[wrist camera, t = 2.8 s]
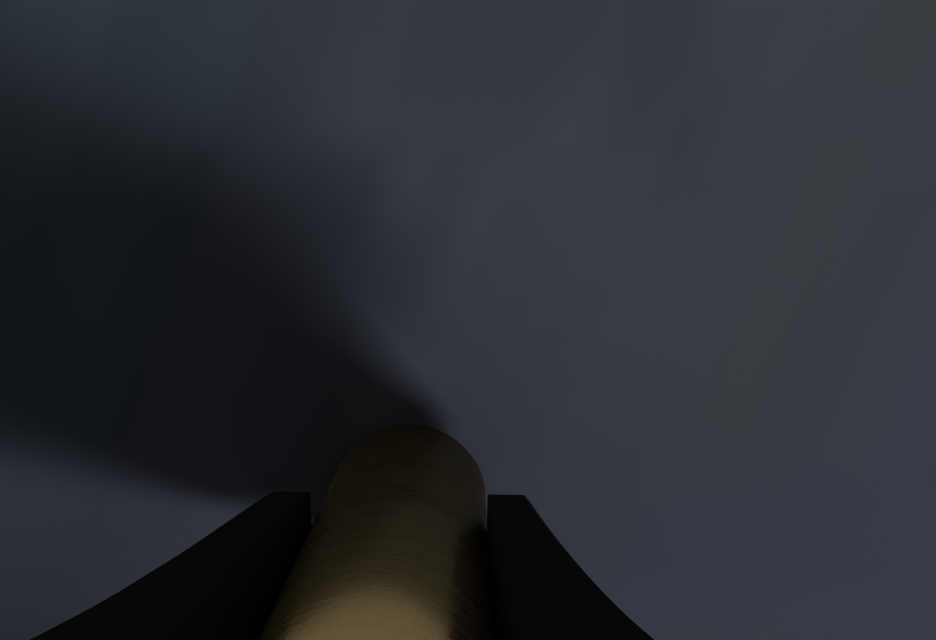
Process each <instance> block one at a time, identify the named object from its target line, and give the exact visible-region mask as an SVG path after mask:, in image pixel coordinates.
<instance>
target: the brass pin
mask: <svg viewBox="0 0 936 640" xmlns="http://www.w3.org/2000/svg"><path fill="white" fill-rule="evenodd" d="M258 640H494V627H493V611H492V595H491V583H490V574H489V560H488V543H487V514H486V498H485V486H484V481H483V477H482V475H481V472H480V469H479V467H478V465H477V464H476V462H475V460H474V459H473V457H472V456H471V455H470V454H469V452H468V451H467V450H466V449H465V448H464V447H463V446H462V445H460V444H459V443H458V442H457V441H455V440H454V439H452V438H451V437H449V436H448V435H445V434H443V433H441V432H439V431H436V430H433V429H430V428H426V427H421V426H411V425H406V426H395V427H389V428H386V429H382V430H379V431H377V432H375V433H372V434H370V435H368V436H367V437H365V438H364V439H362V440H361V441H359V442H358V443H357V444H356V445H354V446H353V448H352V449H351V450H350V451H349V452H348V453H347V454H346V456H345V457H344V459H343V460H342V462H341V464H340V466H339V468H338V470H337V472H336V474H335V476H334V479H333V481H332V483H331V485H330V487H329V489H328V491H327V494H326V496H325V498H324V500H323V502H322V504H321V506H320V509H319V511H318V513H317V515H316V517H315V519H314V521H313V524H312V526H311V528H310V530H309V532H308V534H307V536H306V539H305V541H304V543H303V545H302V547H301V549H300V551H299V554H298V556H297V558H296V560H295V562H294V564H293V567H292V569H291V571H290V573H289V575H288V577H287V579H286V582H285V584H284V586H283V588H282V590H281V592H280V594H279V597H278V599H277V601H276V603H275V605H274V607H273V609H272V612H271V614H270V616H269V618H268V620H267V622H266V624H265V627H264V629H263V631H262V633H261V635H260V637H259V639H258Z"/></svg>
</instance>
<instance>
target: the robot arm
mask: <svg viewBox="0 0 936 640" xmlns="http://www.w3.org/2000/svg"><path fill="white" fill-rule="evenodd" d="M311 526H312V525H311V504H310V492H273V493H271V494H269V495H267V496H266V497H264V498H262V499H261V500H259V501H258V502H256V503H255V504H253V505H252V506H250V507H249V508H247V509H246V510H244V511H243V512H241V513H240V514H238V515H237V516H235V517H234V518H233V519H231V520H230V521H228V522H227V523H225V524H224V525H222V526H221V527H219V528H218V529H217V530H215V531H214V532H212V533H211V534H209V535H208V536H206V537H205V538H203V539H202V540H200V541H199V542H197V543H196V544H194V545H193V546H191V547H190V548H188V549H187V550H185V551H184V552H182V553H181V554H179V555H178V556H176V557H175V558H173V559H171V560H170V561H168V562H166V563H165V564H163V565H162V566H160V567H158V568H157V569H155V570H154V571H152V572H150V573H149V574H147V575H145V576H144V577H142V578H141V579H139V580H137V581H136V582H134V583H133V584H131V585H129V586H128V587H126V588H125V589H123V590H121V591H120V592H118V593H116V594H115V595H113V596H111V597H109V598H108V599H106V600H104V601H102V602H101V603H99V604H97V605H95V606H93V607H92V608H90V609H88V610H86V611H84V612H83V613H81V614H79V615H77V616H75V617H73V618H71V619H69V620H67V621H65V622H64V623H62V624H60V625H58V626H56V627H54V628H52V629H50V630H48V631H46V632H44V633H42V634H40V635H39V636H37V637H35V638H33V639H31V640H258V639H259V637H260V635H261V633H262V631H263V629H264V627H265V624H266V622H267V620H268V618H269V616H270V614H271V612H272V609H273V607H274V605H275V603H276V601H277V599H278V597H279V594H280V592H281V590H282V588H283V586H284V584H285V582H286V579H287V577H288V575H289V573H290V571H291V569H292V567H293V564H294V562H295V560H296V558H297V556H298V554H299V551H300V549H301V547H302V545H303V543H304V541H305V539H306V536H307V534H308V532H309V530H310V528H311ZM487 543H488V560H489V574H490V583H491V595H492V611H493V627H494V640H654V639H653V638H651V637H650V636H649V635H648V634H647V633H646V632H644V631H643V630H642V629H641V628H640V627H639V626H637V625H636V624H635V623H634V622H633V621H632V620H631V619H630V618H629V617H627V616H626V615H625V614H624V613H623V612H622V611H621V610H620V609H619V608H618V607H617V606H616V605H615V604H614V603H613V602H612V601H611V600H610V599H609V598H608V597H607V596H606V595H605V594H604V593H603V592H602V591H601V590H600V589H599V587H598V586H597V585H596V584H595V583H594V582H593V581H592V580H591V579H590V578H589V577H588V575H587V574H586V573H585V572H584V571H583V570H582V569H581V567H580V566H579V565H578V564H577V563H576V561H575V560H574V559H573V558H572V557H571V556H570V554H569V553H568V552H567V551H566V550H565V548H564V547H563V546H562V545H561V543H560V542H559V541H558V540H557V538H556V537H555V536H554V535H553V533H552V532H551V531H550V529H549V528H548V527H547V525H546V524H545V523H544V521H543V520H542V518H541V517H540V516H539V514H538V513H537V511H536V510H535V508H534V507H533V506H532V504H531V503H530V501H529V500H528V499H527V498H526V497H525V496H524V495H488V508H487Z"/></svg>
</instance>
